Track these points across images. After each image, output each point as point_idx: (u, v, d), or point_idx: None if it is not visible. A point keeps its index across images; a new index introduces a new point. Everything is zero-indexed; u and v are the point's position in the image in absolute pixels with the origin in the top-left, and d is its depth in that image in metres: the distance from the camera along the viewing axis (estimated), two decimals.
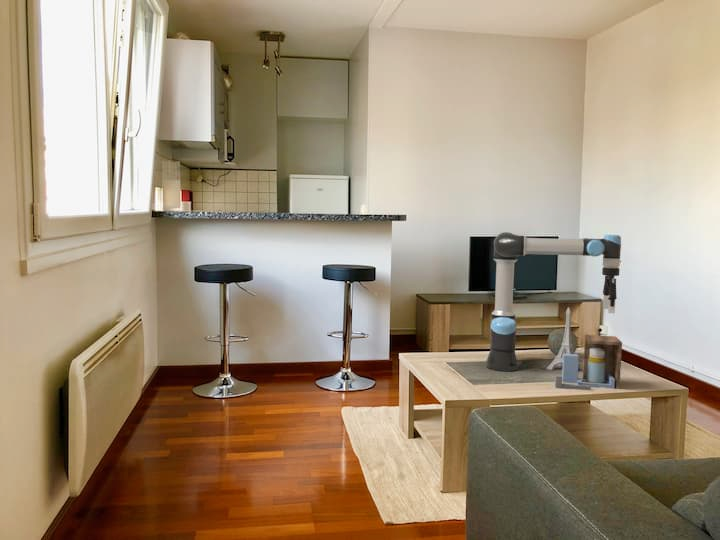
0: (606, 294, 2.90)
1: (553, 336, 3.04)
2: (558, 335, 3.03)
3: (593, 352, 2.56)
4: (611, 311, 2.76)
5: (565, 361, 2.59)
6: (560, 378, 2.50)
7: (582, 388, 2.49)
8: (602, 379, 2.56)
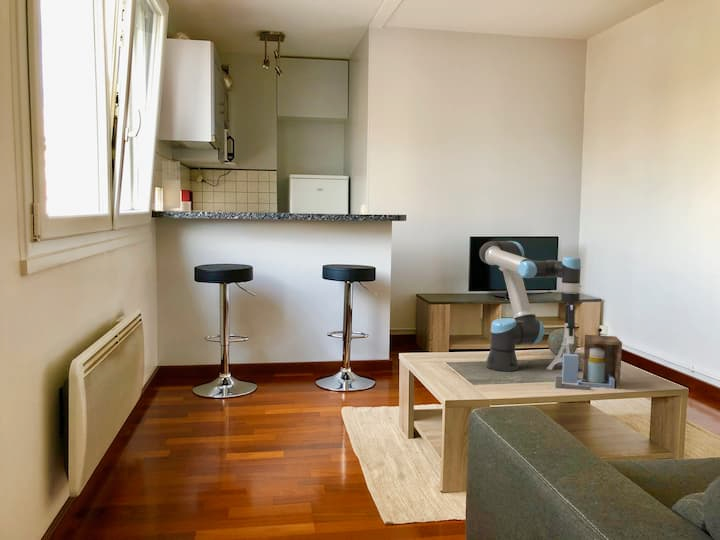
0: (567, 322, 2.65)
1: (553, 336, 3.04)
2: (558, 335, 3.03)
3: (593, 352, 2.56)
4: (570, 341, 2.52)
5: (565, 361, 2.59)
6: (560, 378, 2.50)
7: (582, 388, 2.49)
8: (602, 379, 2.56)
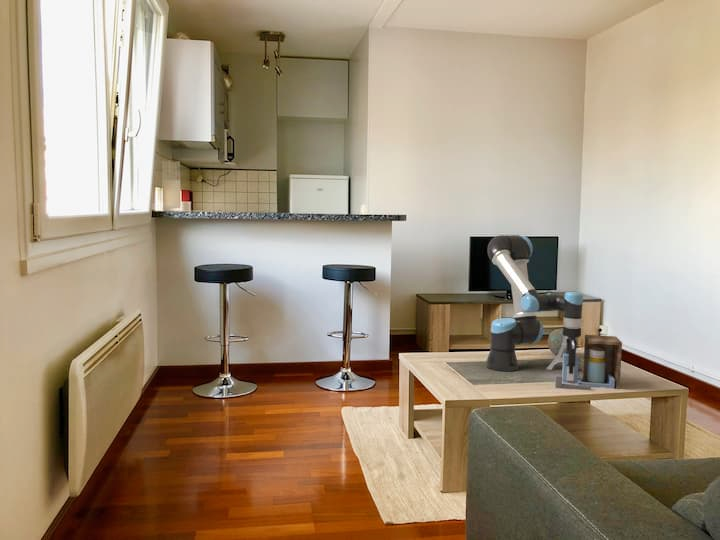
0: None
1: (553, 336, 3.04)
2: (558, 335, 3.03)
3: (593, 352, 2.56)
4: (570, 378, 2.59)
5: (565, 361, 2.59)
6: (560, 378, 2.50)
7: (582, 388, 2.49)
8: (602, 379, 2.56)
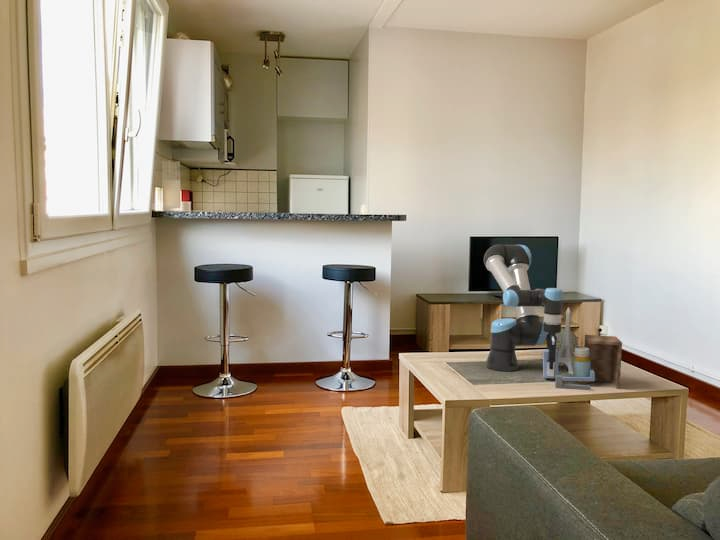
0: None
1: None
2: (558, 335, 3.03)
3: (579, 351, 2.57)
4: (550, 374, 2.61)
5: (545, 357, 2.61)
6: (560, 378, 2.50)
7: (582, 388, 2.49)
8: None
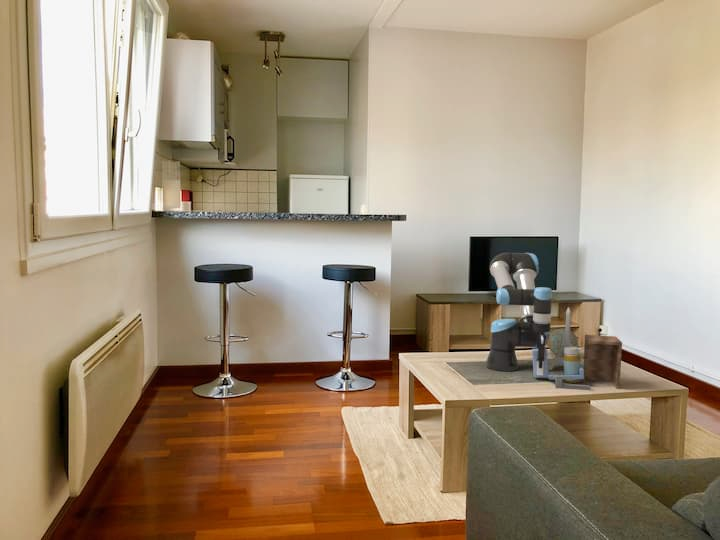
0: None
1: (553, 336, 3.04)
2: (558, 335, 3.03)
3: (569, 351, 2.57)
4: (539, 373, 2.62)
5: (534, 356, 2.62)
6: (560, 378, 2.50)
7: (582, 388, 2.49)
8: None
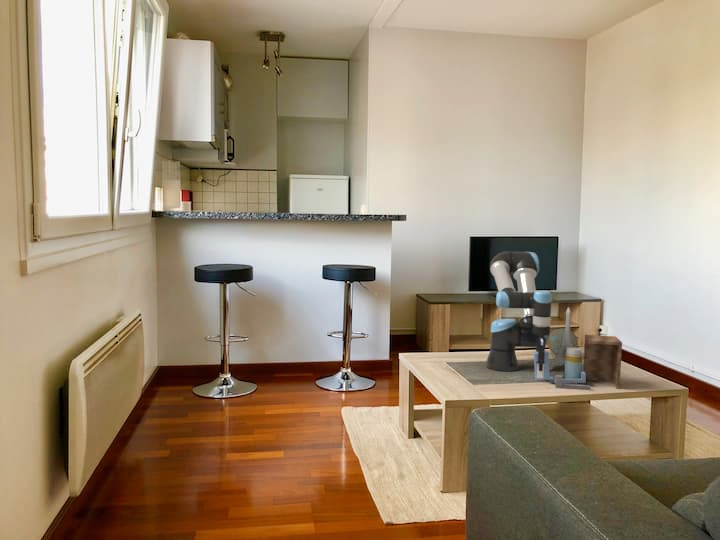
0: None
1: (553, 336, 3.04)
2: (558, 335, 3.03)
3: (571, 351, 2.57)
4: (540, 376, 2.59)
5: (536, 359, 2.62)
6: (560, 378, 2.50)
7: (582, 388, 2.49)
8: (580, 377, 2.58)
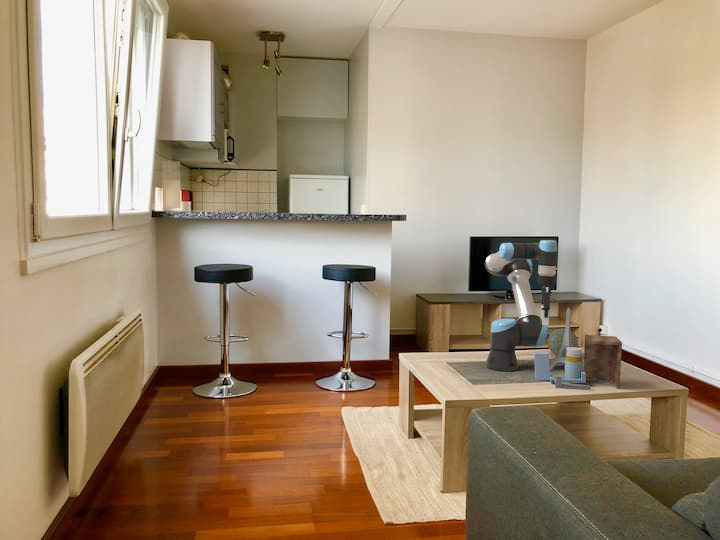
0: None
1: (553, 336, 3.04)
2: (558, 335, 3.03)
3: (571, 351, 2.57)
4: (545, 322, 2.57)
5: (536, 359, 2.62)
6: (560, 378, 2.50)
7: (582, 388, 2.49)
8: (580, 377, 2.58)
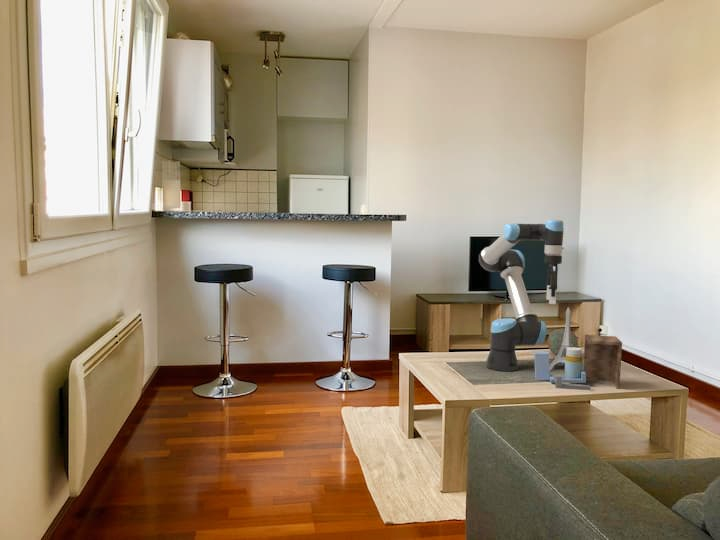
0: (550, 284, 2.71)
1: (553, 336, 3.04)
2: (558, 335, 3.03)
3: (571, 351, 2.57)
4: (552, 301, 2.58)
5: (537, 359, 2.62)
6: (560, 378, 2.50)
7: (582, 388, 2.49)
8: (580, 377, 2.58)
